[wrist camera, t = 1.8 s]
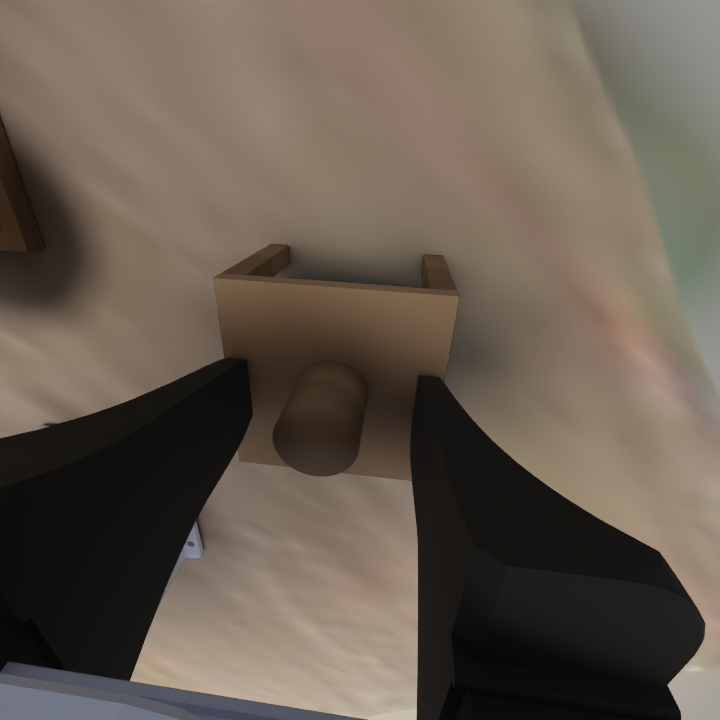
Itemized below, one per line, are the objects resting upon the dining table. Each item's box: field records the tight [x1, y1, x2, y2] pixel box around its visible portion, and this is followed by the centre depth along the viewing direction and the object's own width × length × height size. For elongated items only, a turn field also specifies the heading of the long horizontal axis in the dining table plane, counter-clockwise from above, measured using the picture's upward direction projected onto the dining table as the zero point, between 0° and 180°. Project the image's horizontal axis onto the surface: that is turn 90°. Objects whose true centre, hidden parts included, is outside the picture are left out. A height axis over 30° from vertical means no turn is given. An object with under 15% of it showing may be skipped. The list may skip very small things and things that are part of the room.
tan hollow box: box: [213, 244, 459, 481], centre depth 12 cm, size 7×7×7 cm
